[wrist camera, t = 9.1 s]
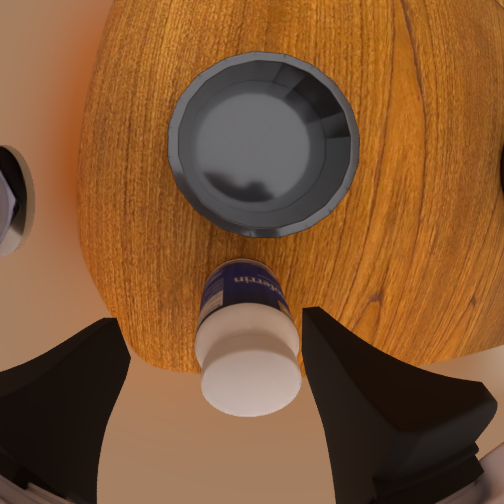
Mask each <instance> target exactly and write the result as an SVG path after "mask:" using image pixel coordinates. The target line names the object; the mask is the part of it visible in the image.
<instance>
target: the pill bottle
mask: <svg viewBox="0 0 504 504" xmlns="http://www.w3.org/2000/svg"><path fill="white" fill-rule="evenodd" d="M298 351H299V337H298V333H297V329H296V326H295V324H294V321H293V318H292V316H291V313H290V310H289V308H288V305H287V302H286V300H285V297H284V295H283V292H282V289H281V287H280V284H279V282H278V280H277V278H276V276H275V275H274V273H273V272H272V271H271V270H270V269H269V268H268V267H267V266H266V265H264V264H262V263H260V262H258V261H255V260H251V259H244V258H241V259H233V260H230V261H227V262H225V263H223V264H221V265H219V266H218V267H217V268H216V269H214V270H213V271H212V273H211V274H210V275H209V277H208V279H207V281H206V283H205V286H204V290H203V295H202V300H201V307H200V312H199V319H198V325H197V330H196V336H195V353H196V357H197V360H198V362H199V364H200V366H201V367H202V372H201V389H202V392H203V395H204V396H205V398H206V399H207V401H208V402H209V403H210V404H211V405H212V406H214V407H215V408H217V409H218V410H220V411H222V412H224V413H227V414H231V415H235V416H242V417H254V416H261V415H266V414H269V413H272V412H275V411H277V410H279V409H281V408H283V407H284V406H286V405H287V404H289V403H290V402H291V401H292V400H293V399H294V397H295V396H296V395H297V393H298V392H299V389H300V387H301V379H302V378H301V372H300V368H299V365H298V362H297V355H298Z"/></svg>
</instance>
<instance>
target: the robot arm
mask: <svg viewBox="0 0 504 504" xmlns="http://www.w3.org/2000/svg"><path fill="white" fill-rule="evenodd" d="M15 208H16V210H15ZM21 209H22V204H21V202H20V200H19V198H18V196H17V195H16V193H15V191H14V189H13V188H12V186H11V184H10V182H9V180H8V178H7V176H6V174H5V173H4V171H3V169H2V167H1V165H0V244H1V242H2V240H3V238H4V237H5V235H6V233H7V231H8V230H9V228H10V226H11V225H12V223H13V222H14V220H15V218H16V217H17V215H18V214H19V212H20V211H21ZM302 356H303V361H304V366H305V371H306V375H307V378H308V381H309V384H310V387H311V390H312V393H313V396H314V399H315V402H316V405H317V408H318V411H319V414H320V417H321V420H322V423H323V427H324V431H325V436H326V441H327V446H328V452H329V458H330V463H331V469H332V475H333V483H334V490H335V498H336V504H504V442H503V443H501V444H500V445H499V446H497V447H496V448H495V449H493V450H492V451H490V452H489V453H488V454H486V455H485V456H484V457H483V458H481V459H480V460H479V461H478V459H477V458H476V456H475V454H476V453H477V452H478V451H479V448H478V446H477V445H476V443H475V441H476V440H477V439H478V437H479V436H480V435H481V434H482V432H483V431H484V430H485V428H486V427H487V426H488V424H489V423H490V422H491V420H492V419H493V417H494V415H495V413H496V411H497V401H496V400H495V398H494V397H493V396H492V394H491V393H490V392H489V391H488V389H487V388H486V387H485V386H484V384H483V383H482V382H477V381H470V380H463V379H457V378H452V377H447V376H443V375H440V374H436V373H432V372H429V371H426V370H423V369H420V368H417V367H415V366H412V365H410V364H407V363H405V362H402V361H400V360H398V359H396V358H394V357H392V356H390V355H388V354H386V353H384V352H382V351H380V350H378V349H377V348H375V347H373V346H372V345H370V344H368V343H367V342H365V341H364V340H362V339H361V338H359V337H358V336H356V335H355V334H353V333H352V332H351V331H349V330H348V329H347V328H345V327H344V326H343V325H341V324H340V323H339V322H338V321H336V320H335V319H334V318H333V317H331V316H330V315H329V314H328V313H327V312H325V311H324V310H323V309H322V308H320V307H319V306H318V307H309V308H303V313H302ZM130 360H131V357H130V354H129V352H128V349H127V346H126V344H125V341H124V338H123V335H122V333H121V330H120V327H119V324H118V321H117V318H103V319H101V320H98V321H96V322H95V323H93V324H91V325H90V326H88V327H86V328H85V329H83V330H81V331H80V332H78V333H77V334H75V335H74V336H72V337H71V338H69V339H67V340H66V341H64V342H63V343H61V344H59V345H58V346H56V347H54V348H53V349H51V350H49V351H48V352H46V353H44V354H42V355H40V356H38V357H36V358H34V359H32V360H30V361H28V362H26V363H24V364H21V365H18V366H16V367H13V368H11V369H8V370H5V371H2V372H0V504H97V474H98V464H99V458H100V452H101V446H102V442H103V437H104V433H105V429H106V426H107V423H108V420H109V417H110V415H111V412H112V410H113V407H114V405H115V403H116V400H117V398H118V395H119V393H120V391H121V388H122V386H123V383H124V381H125V378H126V375H127V372H128V367H129V363H130Z"/></svg>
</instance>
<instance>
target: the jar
mask: <svg viewBox="0 0 504 504" xmlns="http://www.w3.org/2000/svg"><path fill="white" fill-rule="evenodd" d="M501 178H502V186H503V191H504V150H503V154H502V162H501Z"/></svg>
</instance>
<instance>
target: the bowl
mask: <svg viewBox="0 0 504 504" xmlns="http://www.w3.org/2000/svg"><path fill="white" fill-rule="evenodd" d="M168 127H169V128H168V161H169V164H170V167H171V170H172V173H173V176H174V179H175V182H176V185H177V187H178V188H179V190H180V191H181V192H182V194H183V195H184V196H185V198H186V199H187V200H188V202H189V203H190V204H191V206H192V207H193V208H194V210H195V211H197V212H198V213H199V214H200V215H202V216H203V217H205V218H206V219H208V220H209V221H210V222H212V223H213V224H215V225H216V226H218V227H219V228H221V229H223V230H226V231H230V232H233V233H236V234H239V235H242V236H246V237H250V238H279V237H284V236H287V235H291V234H294V233H297V232H300V231H304V230H307V229H309V228H310V227H312V226H313V225H315V224H316V223H318V222H319V221H320V220H322V219H323V218H325V217H326V216H328V215H329V214H331V212H333V210H334V209H335V208H336V206H337V205H338V204H339V203H340V201H341V200H342V199H343V198H344V196H345V195H346V194H347V192H348V190H349V189H350V186H351V184H352V181H353V178H354V176H355V173H356V170H357V167H358V164H359V146H360V137H359V136H360V135H359V131H358V127H357V123H356V120H355V116H354V113H353V110H352V107H351V106H350V104H349V102H348V101H347V99H346V98H345V96H344V95H343V93H342V92H341V90H340V89H339V87H338V86H337V85H336V83H335V82H333V81H332V80H331V79H330V78H329V77H328V76H326V75H325V74H324V73H323V72H321V71H320V70H319V69H318V68H317V67H315V66H313V65H312V64H310V63H307V62H305V61H302V60H300V59H297V58H295V57H292V56H290V55H287V54H282V53H271V52H257V51H256V52H254V51H253V52H249V53H244V54H240V55H236V56H232V57H228V58H225V59H223V60H221V61H219V62H218V63H216V64H214V65H213V66H211V67H210V68H208V69H206V70H205V71H203V72H202V73H200V74H199V75H197V76H196V78H195V79H194V80H193V81H192V82H191V84H190V85H189V86H188V87H187V88H186V90H185V91H184V92H183V93H182V95H181V96H180V97H179V99H178V101H177V104H176V106H175V109H174V112H173V114H172V117H171V120H170V123H169V126H168Z"/></svg>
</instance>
